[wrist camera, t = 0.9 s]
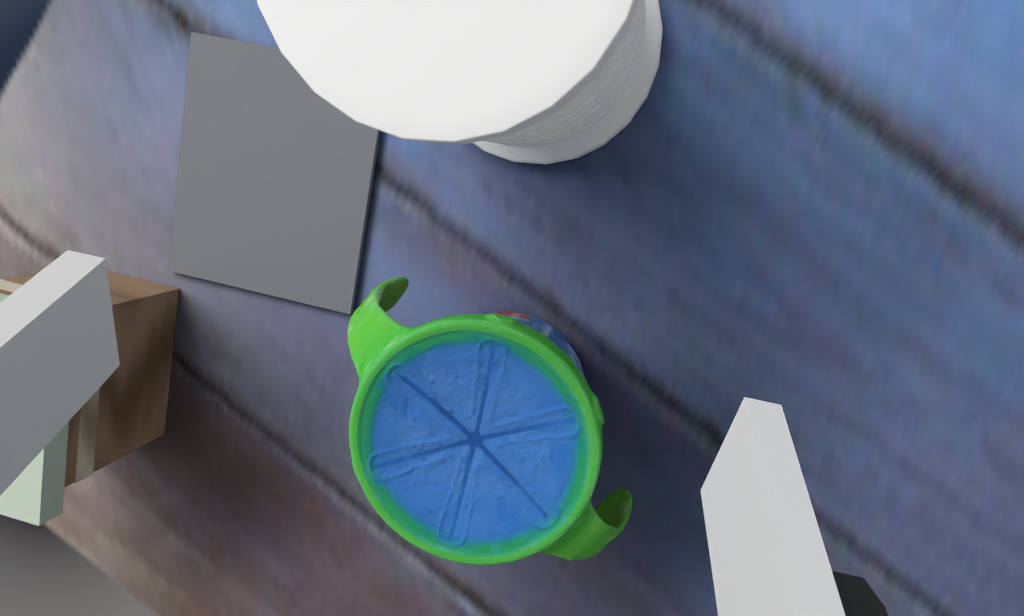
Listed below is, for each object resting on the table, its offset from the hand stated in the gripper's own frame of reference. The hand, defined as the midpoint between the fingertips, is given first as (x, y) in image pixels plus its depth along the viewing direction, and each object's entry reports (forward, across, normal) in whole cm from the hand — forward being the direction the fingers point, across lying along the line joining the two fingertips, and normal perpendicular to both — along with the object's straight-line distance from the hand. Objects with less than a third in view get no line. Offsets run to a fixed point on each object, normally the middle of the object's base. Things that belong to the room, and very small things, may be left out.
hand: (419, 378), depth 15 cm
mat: (+24, +12, +8) cm, 28 cm away
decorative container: (+26, 0, -1) cm, 26 cm away
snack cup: (+20, -3, +15) cm, 25 cm away
